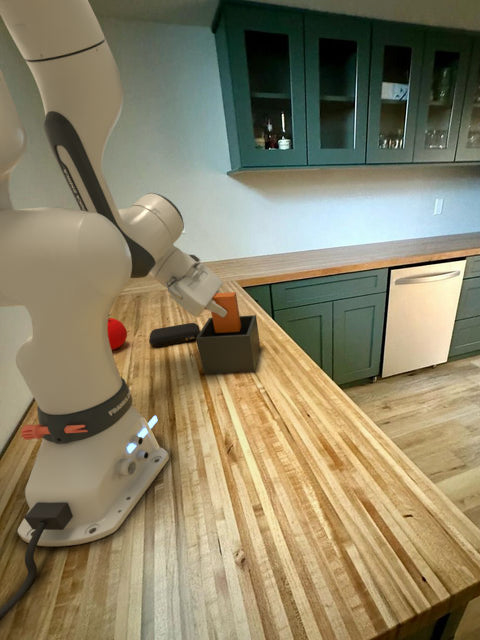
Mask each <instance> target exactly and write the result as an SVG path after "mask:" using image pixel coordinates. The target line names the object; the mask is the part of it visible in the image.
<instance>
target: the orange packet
mask: <svg viewBox="0 0 480 640" xmlns="http://www.w3.org/2000/svg"><path fill="white" fill-rule="evenodd" d="M212 300H213V301H215V302H216V304H217V305H219V306H221V307H222V306H223V307H224V308H225V309H227V310H228V312H227V314H226V315H225V317H221V316H220V315H218V314H217V313H214V312H211V311H210V313H211V314H210V315H211V318H212V319H213V324H214V329H215V333H224V332H239V331H240V329H241V322H240V316H241V315H240V309H239V304H238V303H239V302H238V297H237V292H236V291H232V292H231V291H230V292H229V291H228V292H220V293H216V294H215V295H214V297H213V298H212Z"/></svg>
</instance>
